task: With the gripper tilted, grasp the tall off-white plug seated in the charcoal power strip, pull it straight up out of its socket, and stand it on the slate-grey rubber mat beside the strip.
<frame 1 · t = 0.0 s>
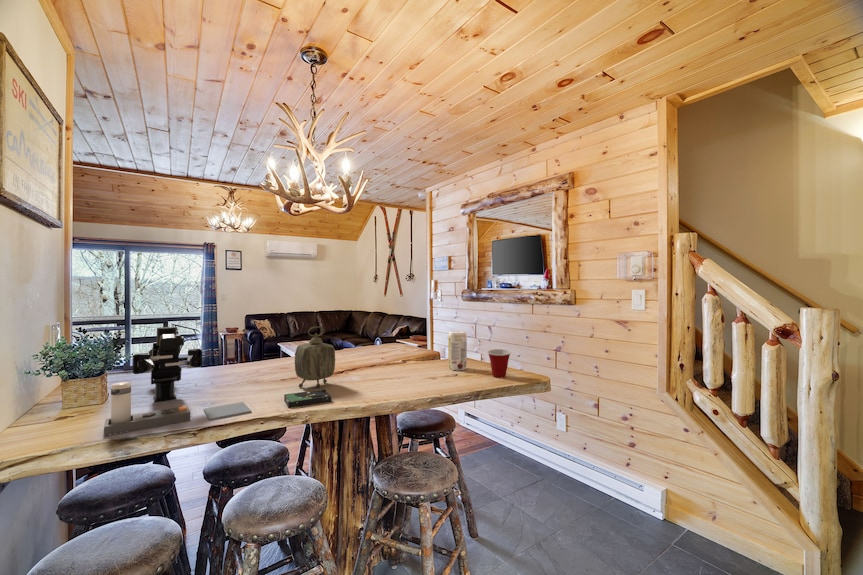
hand: (171, 364, 117), 17 cm above the table, tool horizontal, fingers open, 9 cm apart
plastic cup: (498, 377, 173), on the table
power strip: (149, 423, 111), on the table
mat: (227, 411, 123), on the table
juice carton: (457, 369, 189), on the table
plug: (120, 428, 107), resting in power strip
tabletop clock: (316, 387, 154), on the table
disk drive: (307, 403, 134), on the table
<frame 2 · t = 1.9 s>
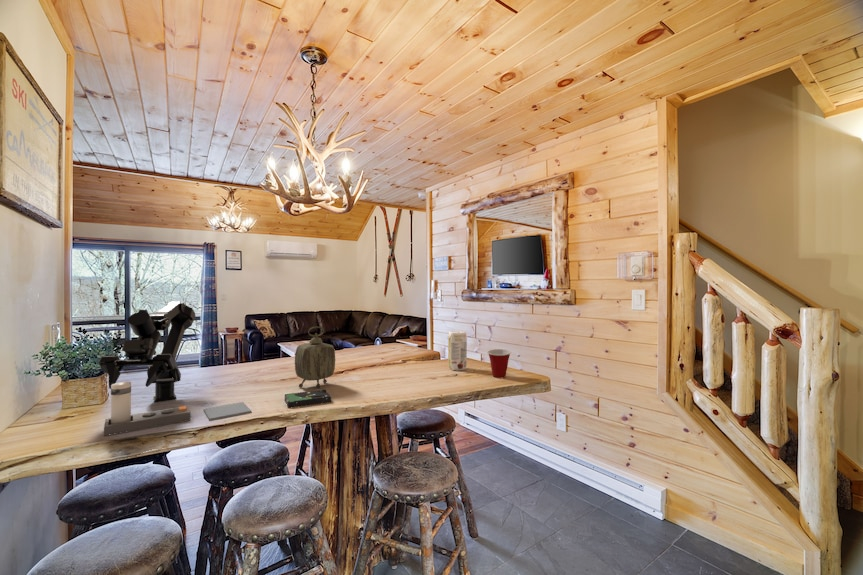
hand: (128, 387, 111), 11 cm above the table, tool tilted 45°, fingers open, 9 cm apart
nothing on the table moved.
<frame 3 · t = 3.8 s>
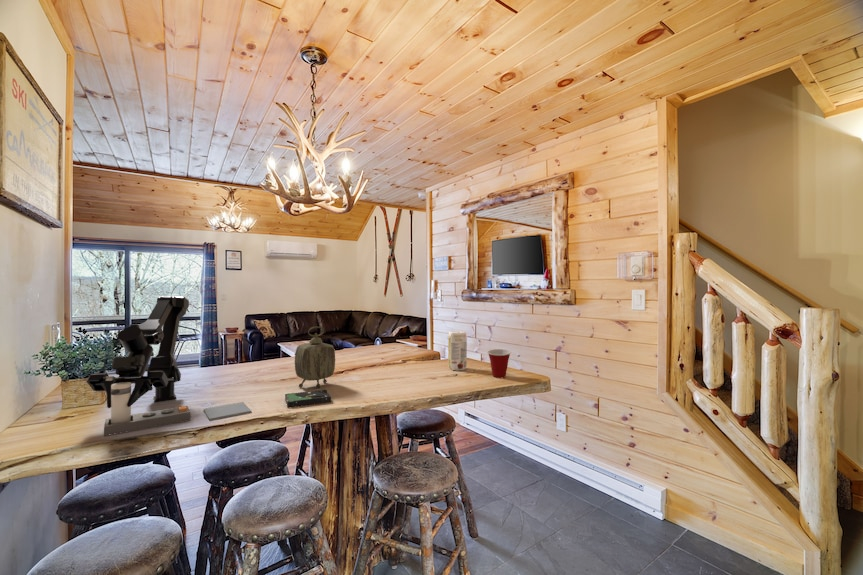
hand: (118, 406, 106), 7 cm above the table, tool tilted 45°, fingers closed on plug, 4 cm apart
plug: (120, 428, 107), resting in power strip, touching gripper
everything else where it was.
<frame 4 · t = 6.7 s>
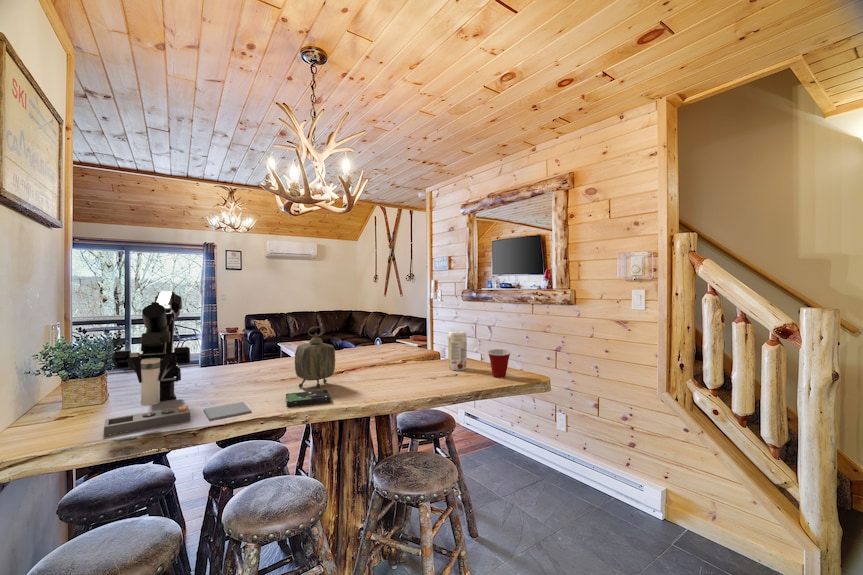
hand: (149, 381, 108), 14 cm above the table, tool tilted 45°, fingers closed on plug, 4 cm apart
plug: (150, 403, 109), point 7 cm above the table, touching gripper
everything else where it was.
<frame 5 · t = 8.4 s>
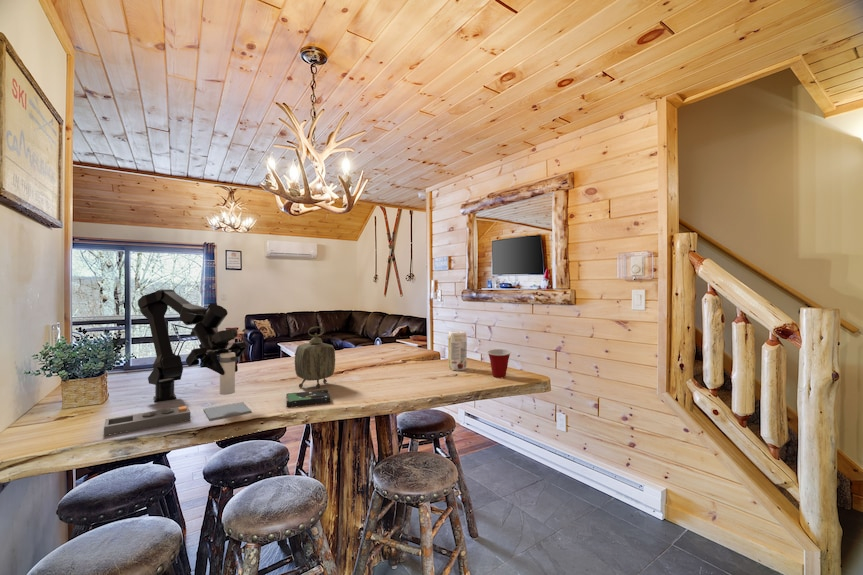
hand: (230, 372, 122), 13 cm above the table, tool tilted 45°, fingers closed on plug, 4 cm apart
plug: (227, 392, 123), point 6 cm above the table, touching gripper
everything else where it was.
when the fingers open (9 cm above the table, at t = 9.6 s): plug drops 1 cm, resting on mat.
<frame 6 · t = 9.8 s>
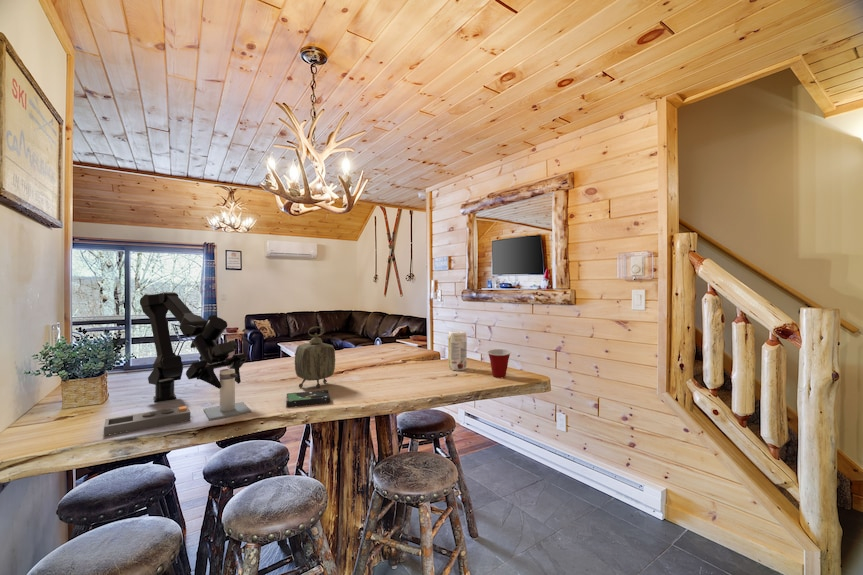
hand: (230, 385, 122), 9 cm above the table, tool tilted 45°, fingers open, 7 cm apart
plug: (227, 409, 123), point 1 cm above the table, touching mat
everything else where it was.
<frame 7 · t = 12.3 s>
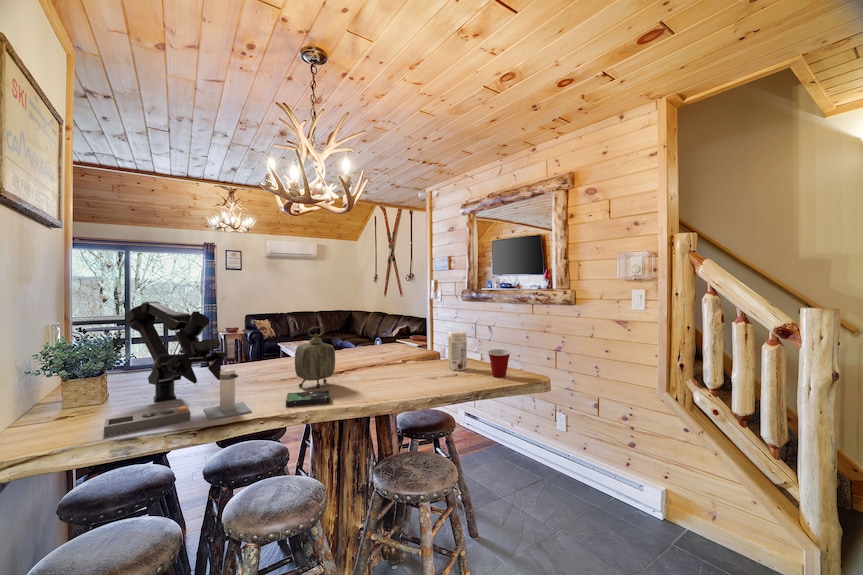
hand: (208, 381, 126), 9 cm above the table, tool tilted 40°, fingers open, 9 cm apart
nothing on the table moved.
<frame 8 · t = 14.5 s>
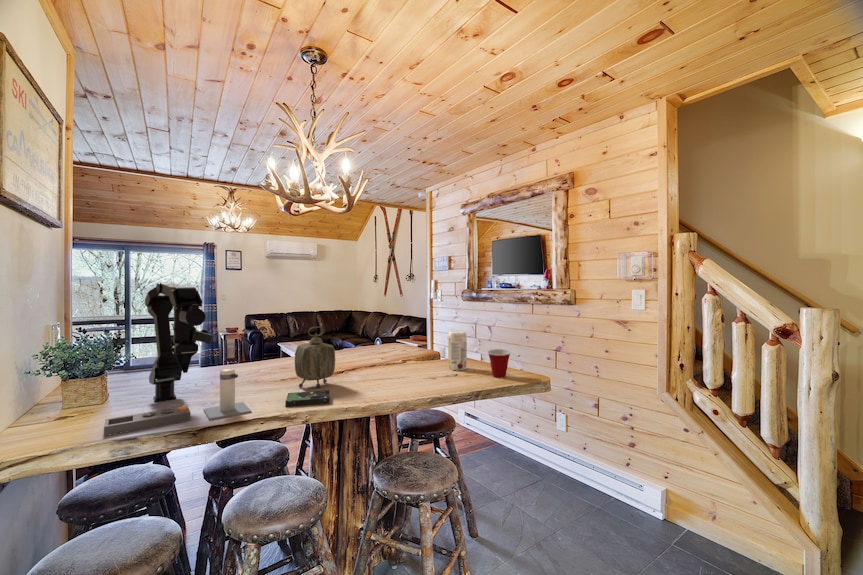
hand: (183, 370, 125), 13 cm above the table, tool pointing down, fingers open, 9 cm apart
nothing on the table moved.
at the end: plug inside the target area on the mat (0.0 cm from its centre), point 0.6 cm above the mat's base; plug tilted 0°; the gripper is holding nothing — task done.
